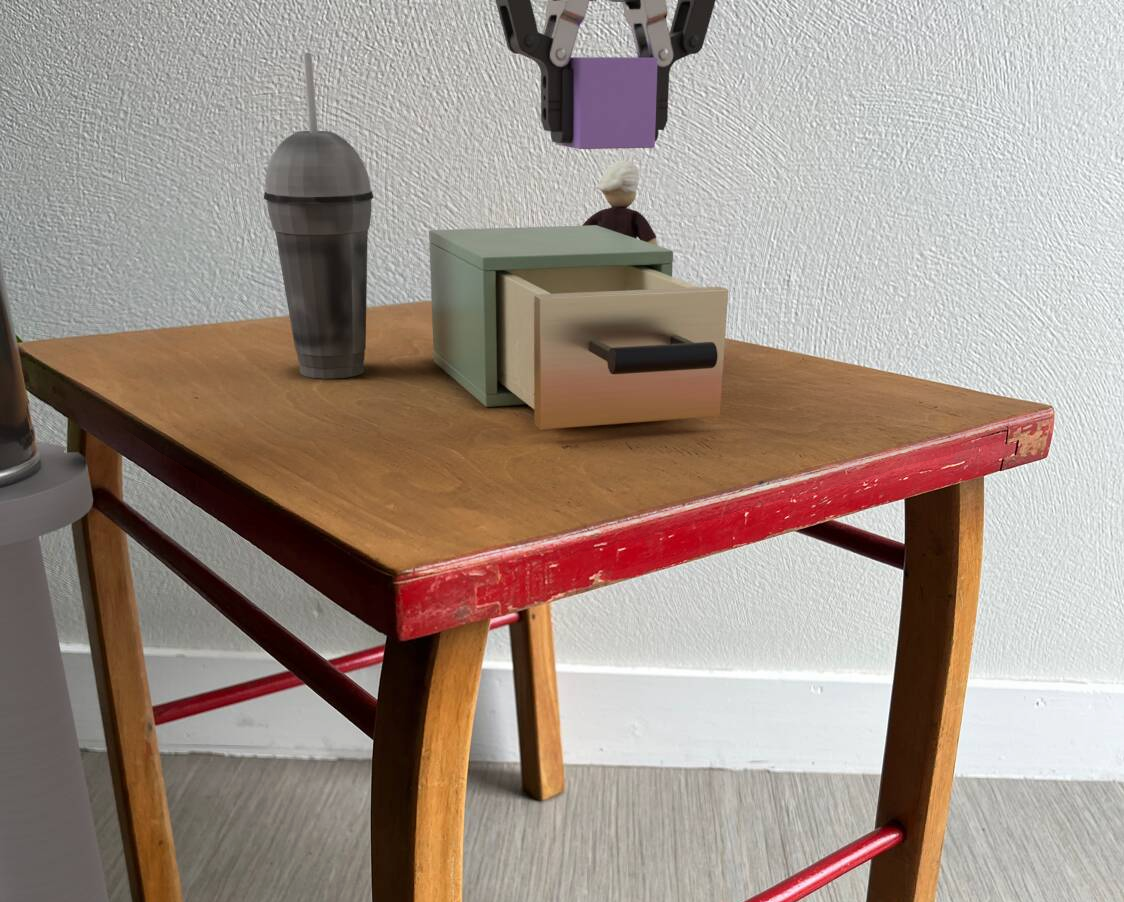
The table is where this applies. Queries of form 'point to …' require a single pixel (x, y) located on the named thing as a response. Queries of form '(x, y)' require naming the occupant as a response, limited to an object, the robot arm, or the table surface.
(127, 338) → the table surface
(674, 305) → the wooden drawer
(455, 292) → the drawer cabinet
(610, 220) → the grandmother figurine
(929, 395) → the table surface
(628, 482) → the table surface
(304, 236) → the beverage cup
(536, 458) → the table surface
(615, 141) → the purple cube
